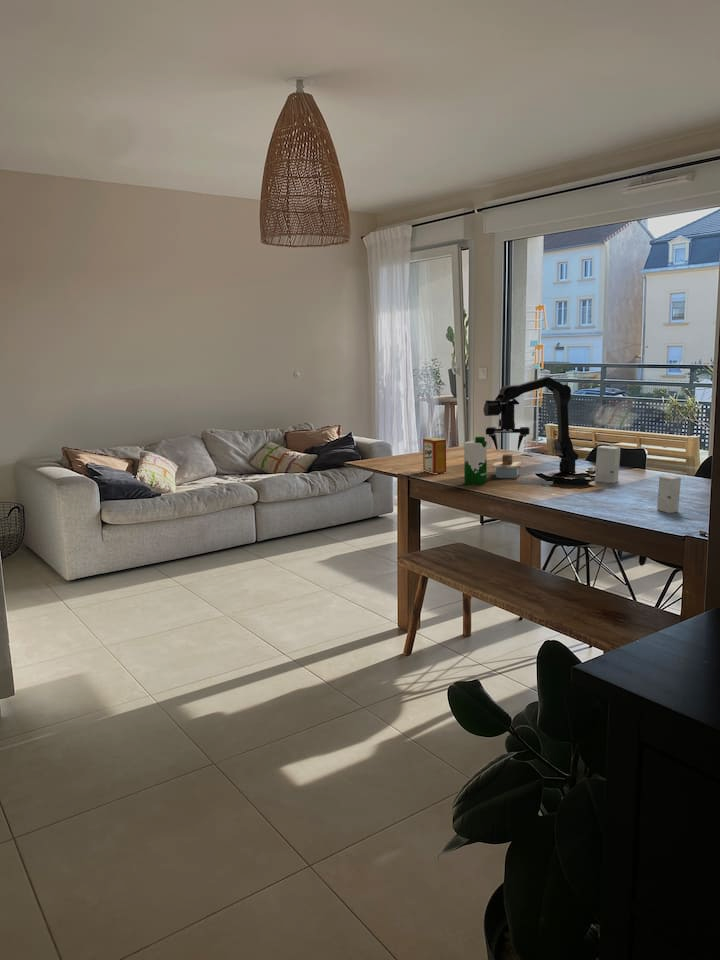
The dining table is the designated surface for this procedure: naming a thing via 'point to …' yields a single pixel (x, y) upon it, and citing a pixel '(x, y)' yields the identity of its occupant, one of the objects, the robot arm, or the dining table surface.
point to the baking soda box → (434, 455)
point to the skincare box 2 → (668, 494)
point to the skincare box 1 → (607, 464)
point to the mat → (534, 481)
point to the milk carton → (475, 461)
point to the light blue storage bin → (506, 472)
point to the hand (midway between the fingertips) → (507, 450)
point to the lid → (507, 462)
